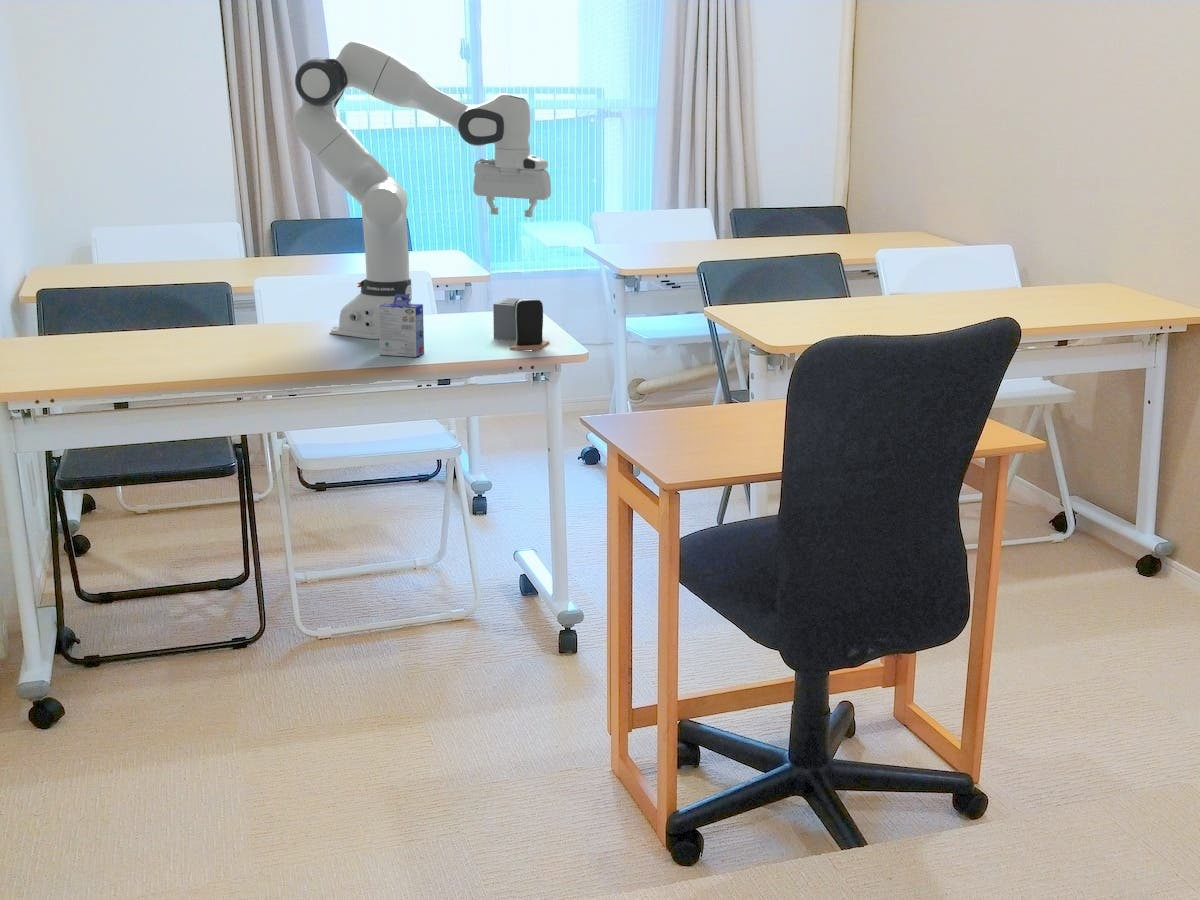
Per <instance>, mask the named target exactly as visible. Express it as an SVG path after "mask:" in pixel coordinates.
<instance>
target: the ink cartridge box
mask: <svg viewBox="0 0 1200 900" xmlns="http://www.w3.org/2000/svg"><path fill="white" fill-rule="evenodd" d="M398 297H405V298H407V299H406V300H397V298H398ZM378 319H379V339H378V343H379V344H378V347H379V348H378V349H379V355H380V356H393V357H409V358H410V357H412V358H417V356H418V357H419V356H422V355H425V335H424V334H425V331H424V329H425V327H424V326H425V325H424V304H423V303H411V304H409V295H408V294H396V295H395V299H394V303H384V304H382V305H380V306H378Z"/></svg>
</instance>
